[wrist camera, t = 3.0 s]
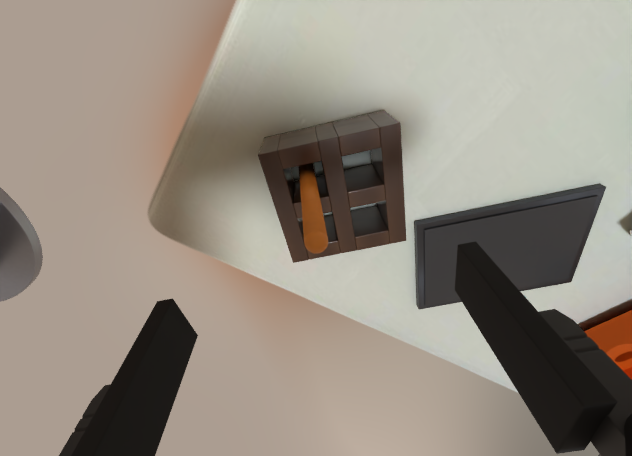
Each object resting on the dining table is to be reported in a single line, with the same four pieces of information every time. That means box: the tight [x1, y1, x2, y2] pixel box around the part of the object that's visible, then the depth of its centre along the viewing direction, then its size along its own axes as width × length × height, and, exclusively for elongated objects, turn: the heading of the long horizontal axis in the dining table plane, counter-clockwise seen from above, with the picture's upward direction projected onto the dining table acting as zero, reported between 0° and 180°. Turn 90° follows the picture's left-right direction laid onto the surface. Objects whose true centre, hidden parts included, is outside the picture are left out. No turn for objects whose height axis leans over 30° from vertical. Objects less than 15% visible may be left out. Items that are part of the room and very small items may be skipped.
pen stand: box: [258, 110, 406, 263], centre depth 27 cm, size 11×11×5 cm
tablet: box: [414, 184, 606, 309], centre depth 35 cm, size 20×14×1 cm
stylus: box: [299, 163, 328, 254], centre depth 22 cm, size 1×1×14 cm
